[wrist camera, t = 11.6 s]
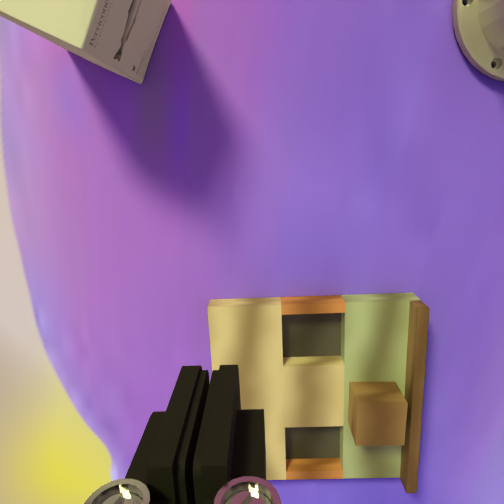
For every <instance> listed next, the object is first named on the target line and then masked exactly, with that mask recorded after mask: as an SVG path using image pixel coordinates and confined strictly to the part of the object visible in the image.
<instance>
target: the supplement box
mask: <svg viewBox="0 0 504 504" xmlns="http://www.w3.org/2000/svg"><path fill="white" fill-rule="evenodd" d="M170 4H171V0H0V16H2V17H4V18H6V19H8V20H10V21H12V22H14V23H16V24H18V25H20V26H22V27H24V28H26V29H27V30H29V31H31V32H33V33H35V34H37V35H39V36H41V37H43V38H45V39H47V40H49V41H51V42H53V43H55V44H56V45H58V46H60V47H62V48H64V49H66V50H68V51H70V52H72V53H74V54H76V55H78V56H80V57H82V58H84V59H86V60H88V61H90V62H92V63H94V64H96V65H99V66H101V67H103V68H105V69H107V70H109V71H112V72H114V73H116V74H118V75H121V76H123V77H125V78H128V79H130V80H132V81H134V82H137V83H139V84H142V83H143V80H144V76H145V73H146V70H147V66H148V63H149V60H150V57H151V54H152V51H153V49H154V46H155V43H156V40H157V37H158V35H159V32H160V29H161V27H162V24H163V21H164V19H165V16H166V14H167V11H168V9H169V6H170Z"/></svg>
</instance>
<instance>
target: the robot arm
mask: <svg viewBox="0 0 504 504" xmlns="http://www.w3.org/2000/svg"><path fill="white" fill-rule="evenodd" d="M462 1H464V2H465V6H464V5H463V4H462ZM452 16H453V27H454V31H455V35H456V39H457V41H458V44H459V46H460V48H461V50H462V52H463V54H464V55H465V56H466V58H467V59H468V60H469V62H470V63H471V64H472V65H473V66H474V67H475V68H477V69H478V70H479V71H480V72H481V73H483V74H485V75H487V76H489V77H490V78H492V79H495V80H498V81H502V82H504V0H453V6H452ZM491 63H492V64H493V68H492V67H491ZM84 504H281V500H280V497H279V494H278V492H277V490H276V489H275V488H274V487H273V485H272V484H271V483H269V482H268V481H266V445H265V420H264V409H244V410H241V399H240V382H239V367H238V365H220V367H219V370H213V372H212V376H211V381H210V384H209V373H208V370H202V367H201V366H182V368H181V371H180V374H179V377H178V379H177V382H176V385H175V388H174V390H173V393H172V396H171V399H170V401H169V404H168V407H167V410H166V411H165V412H153V413H152V414H151V416H150V419H149V421H148V423H147V426H146V428H145V431H144V433H143V436H142V438H141V440H140V443H139V445H138V448H137V450H136V453H135V455H134V457H133V460H132V462H131V465H130V467H129V470H128V472H127V474H126V477H125V479H119V480H115V481H112V482H110V483H108V484H105V485H103V486H101V487H100V488H99V489H98V490H96V491H95V492H94V493H92V495H91V496H90V497H89V498H88V499H87V500H86V502H85V503H84Z"/></svg>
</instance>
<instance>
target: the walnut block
mask: <svg viewBox="0 0 504 504" xmlns="http://www.w3.org/2000/svg"><path fill="white" fill-rule="evenodd" d="M407 407H408V403H407V401H406V399H405V398H404V396H403V394H402V392H401V391H400V389H399V387H398V385H397V384H396V382H395V381H392V382H349V405H348V423H349V426H350V429H351V433H352V436H353V439H354V442H355V445H356V446H398V445H404V442H405V431H406V419H407Z"/></svg>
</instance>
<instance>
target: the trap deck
mask: <svg viewBox="0 0 504 504" xmlns="http://www.w3.org/2000/svg"><path fill="white" fill-rule="evenodd" d="M207 308H208V321H209V333H210V346H211V359H212V372H213V370H219V367H220V365H238V367H239V382H240V399H241V410H244V409H264V420H265V445H266V480H293V479H344V478H395V477H400V479H401V481H402V484H403V486H404V489H405V491H406V493H416V492H417V478H418V463H419V449H420V435H421V421H422V407H423V393H424V378H425V364H426V350H427V336H428V322H429V308H428V307H427V306H426V305H425V304H424V303H423V302H422V301H421V300H420V299H419V298H418V297H417V296H416V295H415V294H414V293H389V294H360V295H331V296H302V297H273V298H244V299H215V300H210V301H209V304H208V307H207ZM392 381H395V382H396V384H397V385H398V387H399V389H400V391H401V392H402V394H403V396H404V398H405V399H406V401H407V403H408V407H407V419H406V431H405V442H404V445H398V446H356V445H355V442H354V439H353V436H352V433H351V429H350V426H349V423H348V405H349V382H392Z"/></svg>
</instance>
